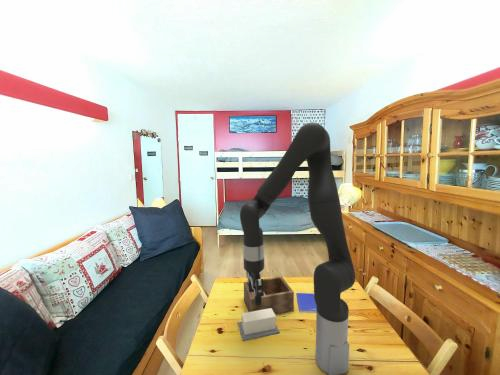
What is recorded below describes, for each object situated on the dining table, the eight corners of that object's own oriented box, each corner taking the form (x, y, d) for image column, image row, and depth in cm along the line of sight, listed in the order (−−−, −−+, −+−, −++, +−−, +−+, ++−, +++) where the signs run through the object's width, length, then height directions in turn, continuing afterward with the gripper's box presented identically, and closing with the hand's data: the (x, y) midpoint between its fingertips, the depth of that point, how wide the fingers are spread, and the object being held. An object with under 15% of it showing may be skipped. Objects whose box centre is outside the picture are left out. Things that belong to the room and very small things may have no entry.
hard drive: (319, 310, 95) (314, 293, 107) (299, 309, 96) (296, 292, 108) (319, 314, 95) (313, 296, 107) (299, 313, 96) (296, 295, 108)
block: (244, 334, 83) (244, 322, 83) (242, 325, 88) (241, 313, 88) (275, 328, 86) (275, 316, 86) (271, 319, 91) (271, 308, 90)
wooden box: (251, 319, 92) (251, 299, 91) (244, 299, 105) (243, 282, 104) (293, 311, 97) (293, 292, 95) (281, 293, 109) (281, 276, 108)
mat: (279, 333, 85) (279, 331, 85) (242, 341, 81) (242, 339, 81) (271, 316, 93) (271, 315, 93) (237, 323, 90) (237, 322, 90)
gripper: (270, 262, 77) (271, 307, 79) (257, 247, 91) (258, 286, 93) (248, 265, 75) (250, 311, 77) (239, 249, 89) (240, 289, 91)
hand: (254, 297), depth 85 cm, fingers open, 8 cm apart
